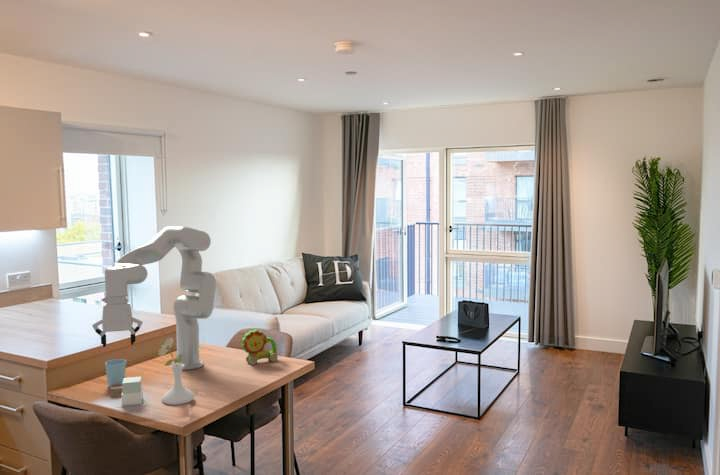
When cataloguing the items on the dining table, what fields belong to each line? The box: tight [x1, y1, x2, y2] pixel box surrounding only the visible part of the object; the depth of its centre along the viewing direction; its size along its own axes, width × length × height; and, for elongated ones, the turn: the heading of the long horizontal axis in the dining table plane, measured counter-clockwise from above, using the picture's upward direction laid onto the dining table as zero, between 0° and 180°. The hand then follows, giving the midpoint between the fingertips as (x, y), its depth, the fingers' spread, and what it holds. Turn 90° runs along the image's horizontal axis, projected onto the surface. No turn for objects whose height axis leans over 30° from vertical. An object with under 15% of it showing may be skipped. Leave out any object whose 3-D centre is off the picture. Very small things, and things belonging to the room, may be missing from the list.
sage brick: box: [122, 376, 143, 394], centre depth 205 cm, size 6×6×4 cm
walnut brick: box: [109, 384, 123, 397], centre depth 213 cm, size 5×5×4 cm
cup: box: [104, 358, 127, 388], centre depth 222 cm, size 8×8×10 cm
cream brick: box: [120, 386, 144, 405], centre depth 205 cm, size 6×6×4 cm
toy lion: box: [241, 329, 278, 366], centre depth 256 cm, size 16×5×15 cm, turn 120°
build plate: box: [115, 394, 149, 409], centre depth 206 cm, size 10×10×1 cm
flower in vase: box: [157, 336, 195, 406], centre depth 206 cm, size 13×11×25 cm
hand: (118, 345), depth 211 cm, fingers open, 9 cm apart
